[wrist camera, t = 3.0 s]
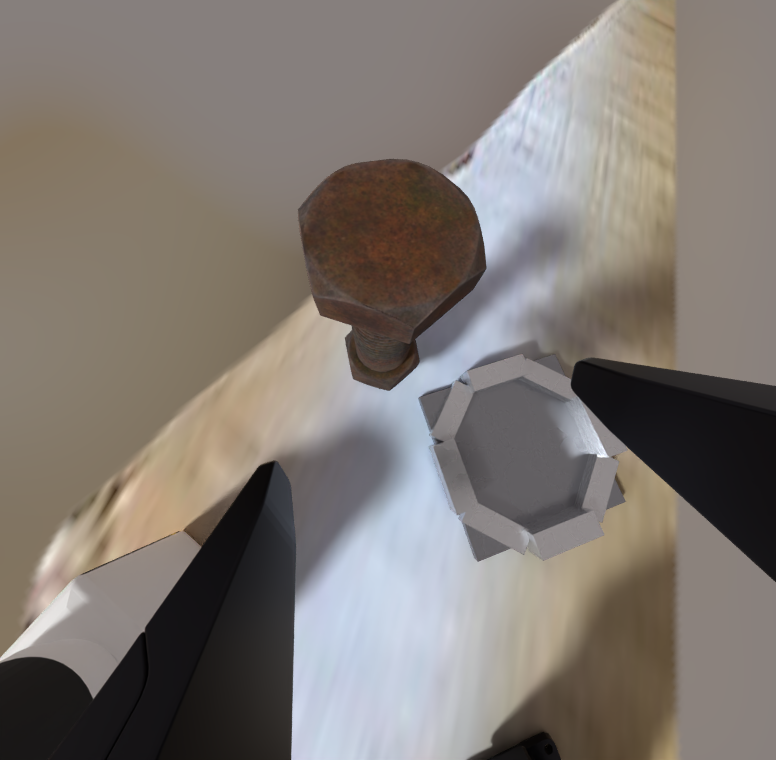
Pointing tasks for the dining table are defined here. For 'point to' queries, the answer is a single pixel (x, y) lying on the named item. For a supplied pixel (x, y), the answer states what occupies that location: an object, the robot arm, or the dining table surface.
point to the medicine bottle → (82, 644)
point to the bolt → (389, 259)
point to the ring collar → (522, 458)
